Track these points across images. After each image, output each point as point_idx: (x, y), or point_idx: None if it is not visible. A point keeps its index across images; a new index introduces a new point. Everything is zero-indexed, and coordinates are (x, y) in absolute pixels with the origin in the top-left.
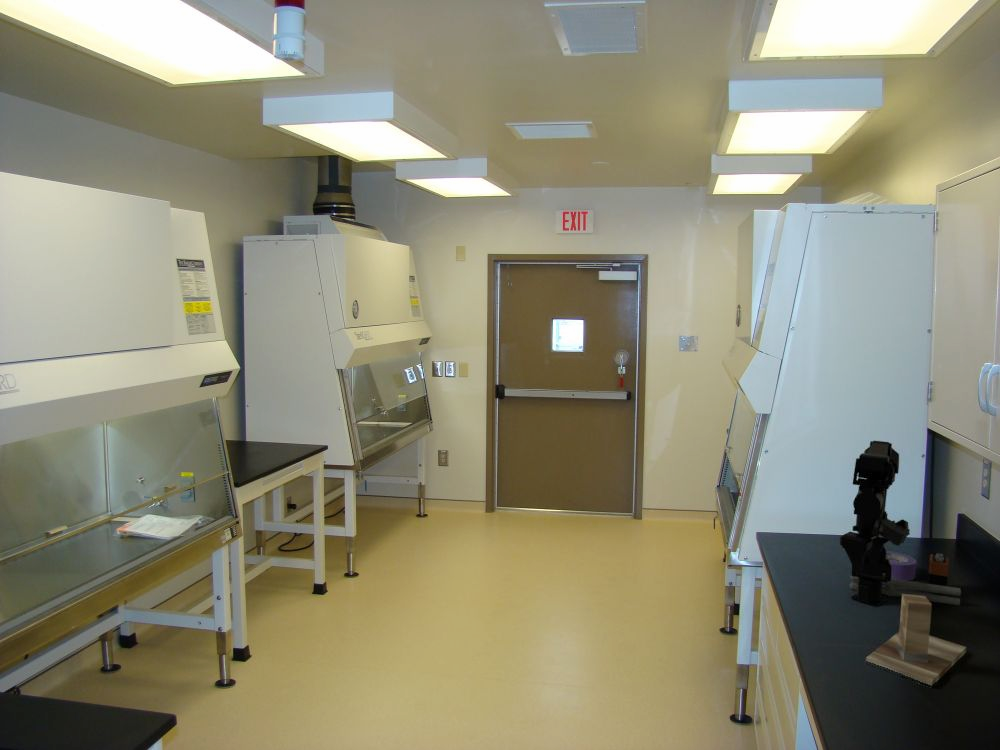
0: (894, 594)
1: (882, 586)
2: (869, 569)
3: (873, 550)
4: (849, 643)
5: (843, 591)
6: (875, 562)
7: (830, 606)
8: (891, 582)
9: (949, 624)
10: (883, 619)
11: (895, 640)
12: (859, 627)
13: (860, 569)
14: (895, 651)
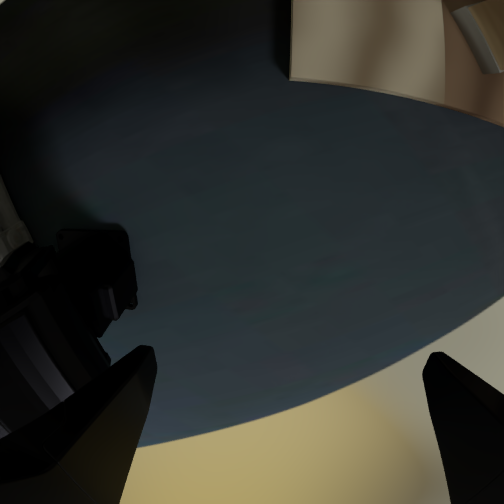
0: (21, 223)
1: None
2: (84, 337)
3: (113, 451)
4: (472, 201)
5: (106, 333)
6: (145, 360)
7: (243, 330)
8: (3, 247)
9: (90, 21)
10: (212, 173)
11: (427, 82)
12: (349, 212)
13: (468, 372)
14: (491, 77)
